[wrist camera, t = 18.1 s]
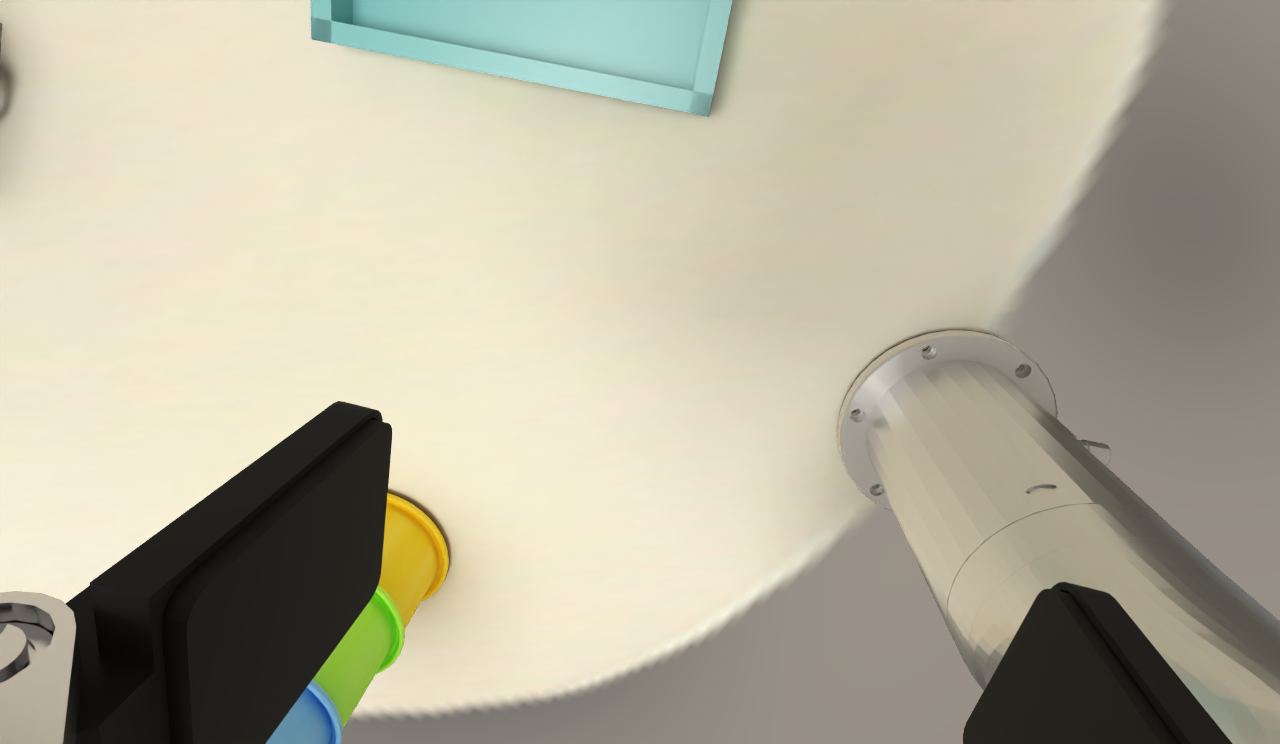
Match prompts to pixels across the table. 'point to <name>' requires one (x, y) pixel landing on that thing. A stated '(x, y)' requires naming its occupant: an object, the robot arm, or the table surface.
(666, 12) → the teal tray
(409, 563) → the stacking cups
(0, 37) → the grey portable radio
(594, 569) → the table surface
